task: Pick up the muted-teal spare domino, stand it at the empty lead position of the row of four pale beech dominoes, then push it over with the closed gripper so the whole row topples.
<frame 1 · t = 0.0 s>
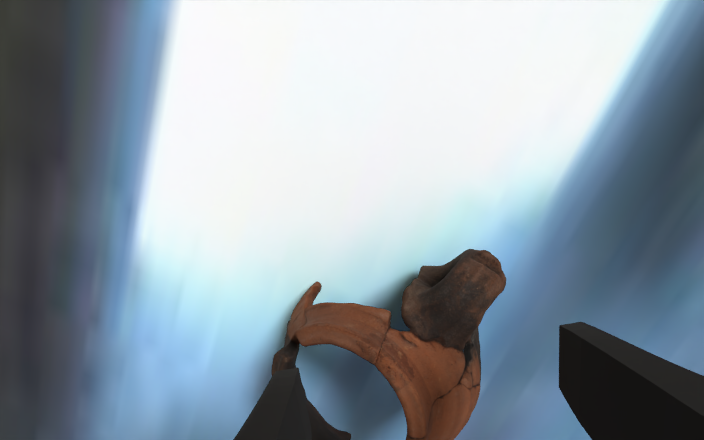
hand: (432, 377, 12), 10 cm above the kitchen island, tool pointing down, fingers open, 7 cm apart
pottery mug: (392, 312, 23), on the kitchen island
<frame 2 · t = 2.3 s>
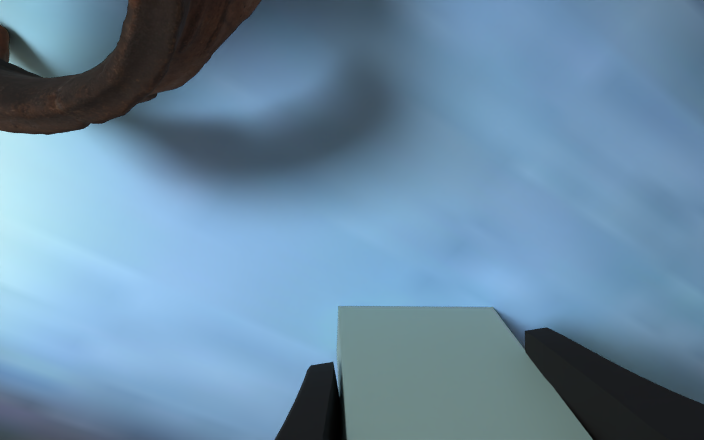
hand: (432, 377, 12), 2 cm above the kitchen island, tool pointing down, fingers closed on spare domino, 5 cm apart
spare domino: (414, 328, 14), on the kitchen island, touching gripper
when the fingers open (3 cm above the kitchen island, at t = 5.4 s): spare domino stays where it is, on the kitchen island.
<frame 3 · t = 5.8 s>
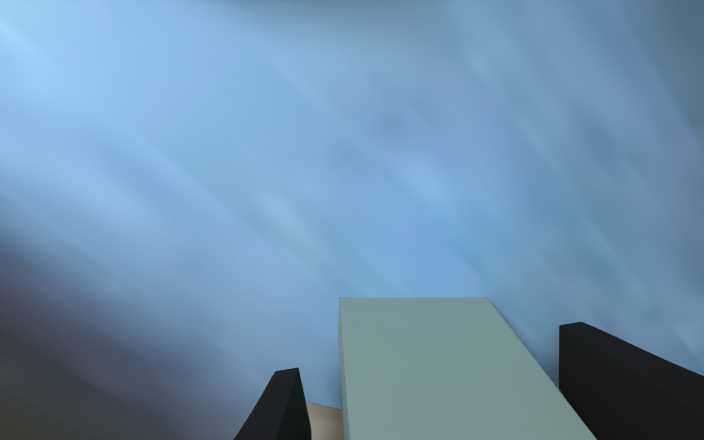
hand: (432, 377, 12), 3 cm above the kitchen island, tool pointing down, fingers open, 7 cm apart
domino 1: (363, 433, 16), on the kitchen island
spare domino: (412, 319, 15), on the kitchen island
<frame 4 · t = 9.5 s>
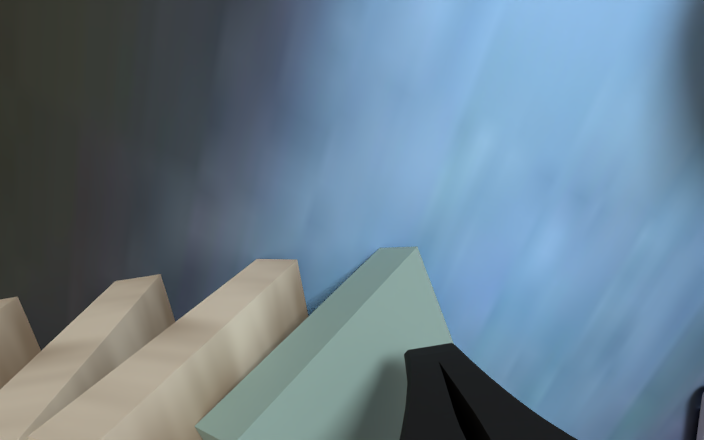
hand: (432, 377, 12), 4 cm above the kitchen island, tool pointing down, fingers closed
domino 2: (157, 338, 16), on the kitchen island
domino 1: (290, 322, 16), on the kitchen island, tilted 24°, touching spare domino
domino 3: (21, 360, 16), on the kitchen island
spare domino: (421, 307, 15), point 1 cm above the kitchen island, tilted 42°, touching domino 1
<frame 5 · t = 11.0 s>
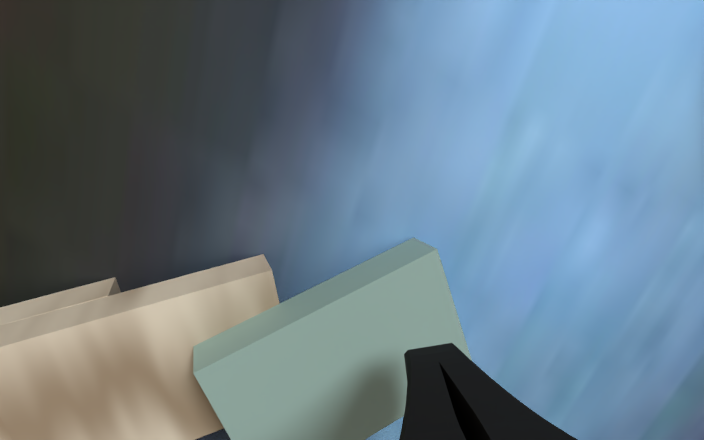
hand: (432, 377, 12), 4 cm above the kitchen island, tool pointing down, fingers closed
domino 2: (135, 349, 15), point 1 cm above the kitchen island, tilted 73°, touching domino 1
domino 1: (282, 326, 15), point 1 cm above the kitchen island, tilted 73°, touching domino 2
spare domino: (444, 305, 15), point 1 cm above the kitchen island, tilted 73°
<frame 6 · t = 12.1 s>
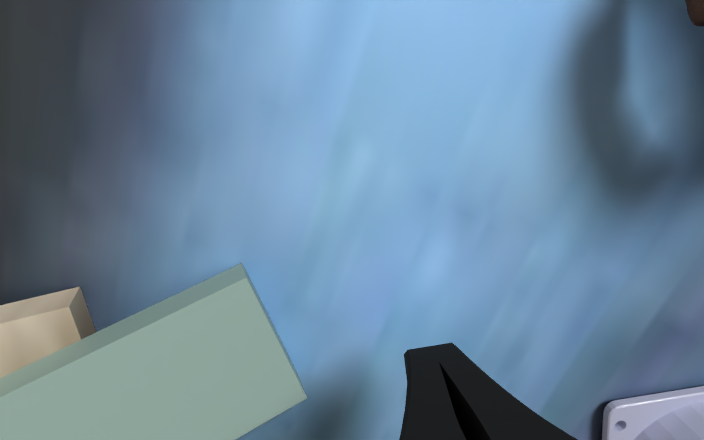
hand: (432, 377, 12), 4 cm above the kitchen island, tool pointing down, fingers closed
domino 1: (97, 360, 15), point 1 cm above the kitchen island, tilted 73°, touching domino 2, spare domino
spare domino: (274, 330, 15), point 1 cm above the kitchen island, tilted 74°, touching domino 1
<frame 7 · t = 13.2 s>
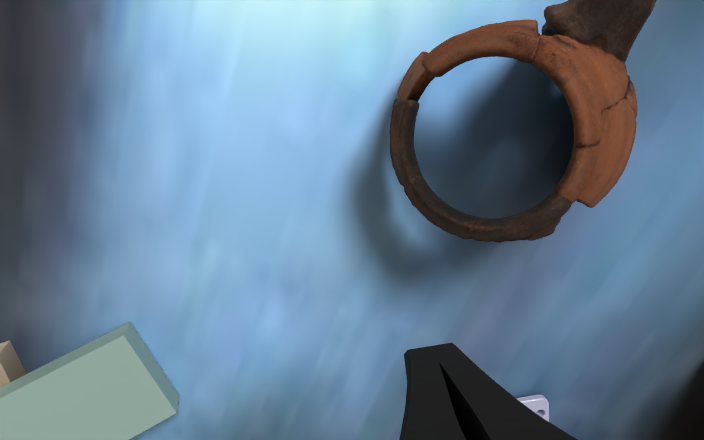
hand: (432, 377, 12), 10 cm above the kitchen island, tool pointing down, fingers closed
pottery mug: (503, 103, 20), on the kitchen island
domino 1: (24, 389, 22), point 1 cm above the kitchen island, tilted 73°, touching domino 2
spare domino: (153, 367, 22), point 1 cm above the kitchen island, tilted 75°
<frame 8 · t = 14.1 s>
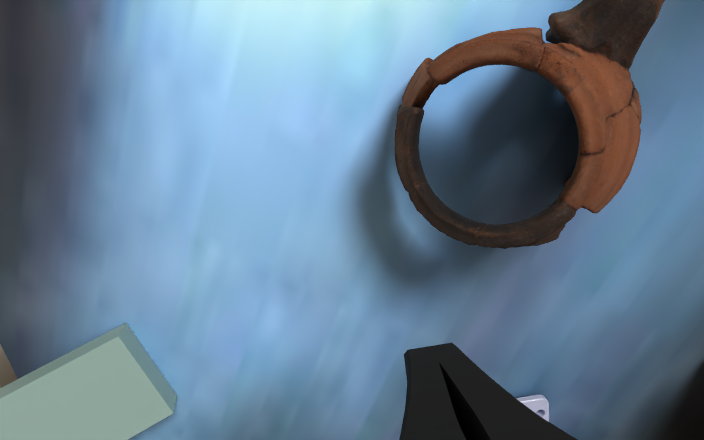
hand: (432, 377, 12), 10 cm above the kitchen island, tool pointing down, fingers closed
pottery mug: (506, 108, 20), on the kitchen island
domino 1: (14, 392, 22), point 1 cm above the kitchen island, tilted 74°, touching domino 2
spare domino: (149, 367, 22), point 1 cm above the kitchen island, tilted 76°
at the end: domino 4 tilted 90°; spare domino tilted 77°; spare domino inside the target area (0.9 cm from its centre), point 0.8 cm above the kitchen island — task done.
